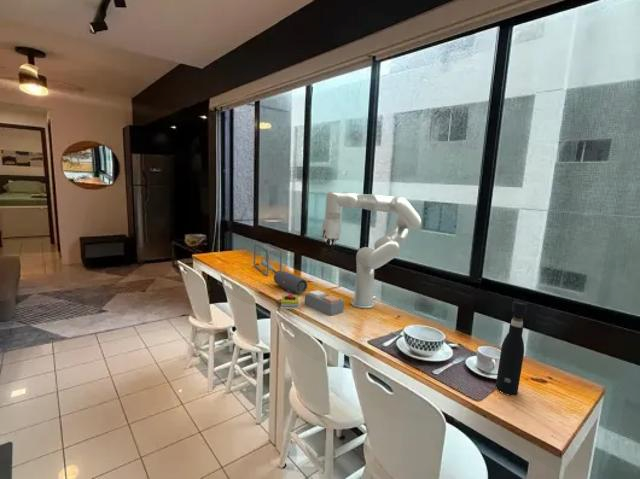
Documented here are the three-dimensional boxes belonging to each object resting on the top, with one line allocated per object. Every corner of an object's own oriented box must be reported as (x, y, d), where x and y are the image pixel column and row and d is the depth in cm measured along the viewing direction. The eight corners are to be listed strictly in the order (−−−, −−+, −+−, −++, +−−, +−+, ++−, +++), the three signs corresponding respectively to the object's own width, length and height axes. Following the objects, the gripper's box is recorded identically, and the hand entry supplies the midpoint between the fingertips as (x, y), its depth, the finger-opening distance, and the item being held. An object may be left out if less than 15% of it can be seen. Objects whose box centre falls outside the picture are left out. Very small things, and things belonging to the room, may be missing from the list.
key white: (317, 299, 186) (317, 290, 185) (325, 302, 181) (325, 293, 181) (309, 301, 182) (309, 292, 181) (316, 304, 177) (317, 295, 177)
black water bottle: (510, 384, 117) (523, 299, 112) (521, 396, 110) (536, 306, 106) (491, 384, 117) (504, 298, 112) (502, 395, 110) (516, 305, 106)
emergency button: (298, 292, 189) (299, 301, 174) (298, 300, 190) (298, 310, 175) (281, 291, 188) (280, 301, 174) (281, 299, 189) (280, 309, 174)
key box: (317, 301, 188) (317, 290, 187) (343, 312, 175) (344, 300, 174) (304, 304, 182) (305, 293, 181) (330, 316, 168) (331, 304, 167)
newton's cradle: (253, 266, 257) (254, 243, 255) (266, 265, 262) (267, 242, 260) (266, 276, 231) (267, 250, 229) (281, 275, 236) (282, 250, 234)
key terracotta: (330, 304, 179) (331, 295, 178) (339, 307, 174) (339, 298, 174) (322, 306, 174) (322, 297, 174) (330, 310, 170) (331, 300, 170)
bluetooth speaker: (272, 286, 211) (273, 270, 209) (284, 284, 217) (285, 268, 216) (294, 296, 194) (295, 279, 193) (307, 294, 200) (308, 277, 199)
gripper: (337, 215, 183) (334, 249, 186) (316, 215, 173) (314, 251, 176) (347, 217, 178) (345, 252, 181) (327, 217, 167) (324, 254, 170)
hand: (330, 251), depth 178 cm, fingers closed
